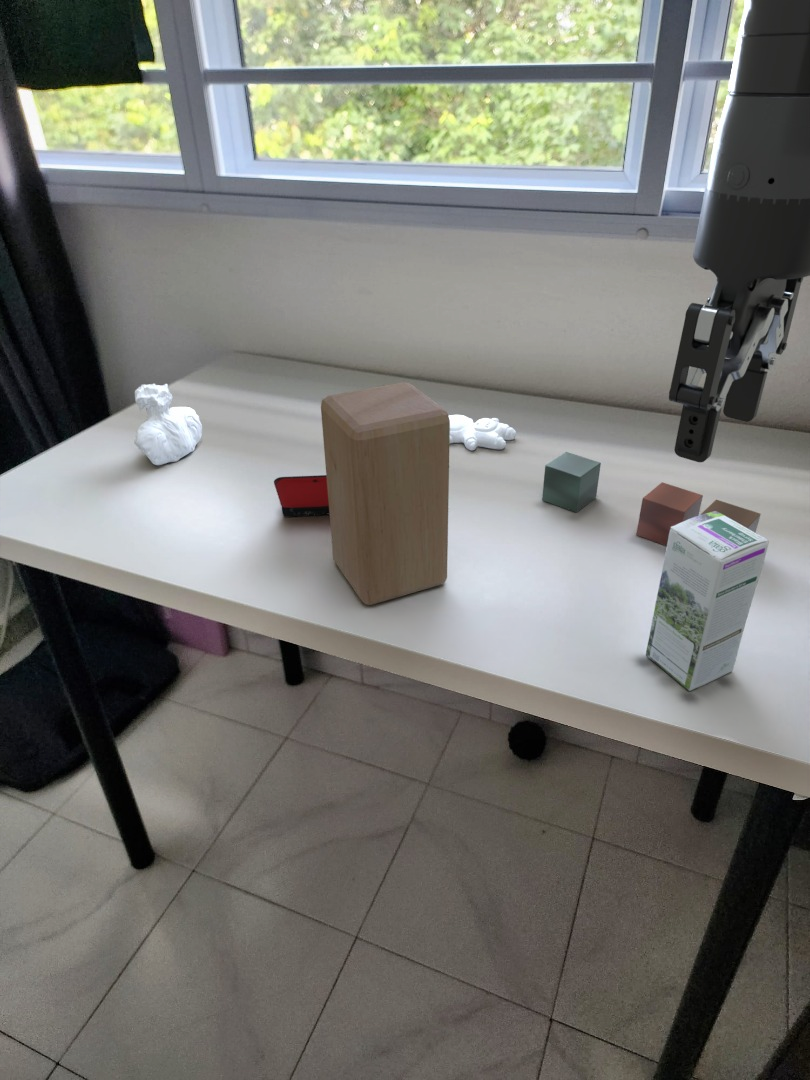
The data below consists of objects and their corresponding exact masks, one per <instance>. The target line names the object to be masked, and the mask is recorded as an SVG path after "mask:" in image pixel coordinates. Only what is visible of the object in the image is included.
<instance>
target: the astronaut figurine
mask: <svg viewBox="0 0 810 1080" xmlns="http://www.w3.org/2000/svg"><path fill="white" fill-rule="evenodd" d="M448 416H449V419H450V443H449V445H450V444H459V443H463V444H464V446H465V448H466V449H467V450H469V451H475V450H476V449H477V448H478V447H480V448H487V449H491V450H503V449H504V448H505V447H506V444H507V443H506V440H507V441H513V440H515V439H516V435H517V431H516V430H515V429H514V427H510V425H509V424H507V423H502V422H500V419H499V418H497V417H492V418H488V417H483V418H480V419H478V420H476V421H475V422H474V420H473V418H470V417H469V416H466V415H463V414H451V415H450V414H449V415H448Z"/></svg>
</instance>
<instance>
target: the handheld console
mask: <svg viewBox="0 0 810 1080" xmlns="http://www.w3.org/2000/svg"><path fill="white" fill-rule="evenodd" d="M273 484H274V485H273V486H274V487H275V492H276V495H277V496H278V501H279V503H280V506H281V513H282V515H283V517H287V518H293V517H294V518H295V517H307V516H308V517H310V516H311V517H312V516H326V515H330V513H329V501H328V489H327V477H326V474H321V475H319V474H318V475H301V476H300V475H297V476H296V475H295V476H293V475H292V476H279V477H276V478H275V479H274V480H273Z"/></svg>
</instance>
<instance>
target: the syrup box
mask: <svg viewBox="0 0 810 1080" xmlns="http://www.w3.org/2000/svg"><path fill="white" fill-rule="evenodd" d="M769 545H770V541H769V539H767V538H766V537H764V536H762V535H760V534H758V533H755V532H753V531H751V530H749V529H748V528H746V527H744V526H742V525H741V524H739V523H737V522H735V521H733V520H732V519H730V518H728V517H726V516H725V515H723V514H721V513H719V512H718V511H714V512H710V513H706V514H702V515H700V514H699V515H698V516H696V517H693V518H691V519H688V520H686V521H684V522H681V523H679V524H677V525H675V526H672V527H671V529H670V532H669V537H668V543H667V546H666V548H665V553H664V557H663V564H662V569H661V575H660V580H659V585H658V589H657V590H658V591H657V593H656V600H655V605H654V610H653V614H652V619H651V620H652V622H651V626H650V631H649V635H648V641H647V646H646V651H645V656H646V657H647V658H648V659H649V660H651V661H652V663H654V664H656V665H657V666H658V667H660V669H662V670H663V671H664V672H666V673H667V675H669V676H670V677H671V678H673V679H674V680H675V681H676V682H677V683H679V684H680V685H681V686H682V687H683V688H685V689H686V690H687V691H693V690H695V689H698V688H701V687H703V686H705V685H707V684H709V683H711V682H713V681H715V680H717V679H720V678H722V677H723V676H725V675H728V674H729V673H732V672H733V671H734V669H735V665H736V662H737V657H738V653H739V648H740V645H741V641H742V638H743V634H744V630H745V627H746V623H747V619H748V616H749V613H750V609H751V607H752V602H753V599H754V596H755V593H756V589H757V587H758V586H757V585H758V583H759V579H760V576H761V573H762V569H763V567H764V563H765V558H766V556H767V551H768V547H769Z"/></svg>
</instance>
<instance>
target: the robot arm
mask: <svg viewBox="0 0 810 1080" xmlns="http://www.w3.org/2000/svg"><path fill="white" fill-rule="evenodd" d="M737 35H738V37H737V41H736V46H735V51H734V56H733V62H732V68H731V71H730V78H729V82H728V89H727V92H728V93H727V95H726V98H725V102H724V105H723V109H722V113H721V116H720V119H719V122H718V126H717V129H716V133H715V136H714V139H713V145H712V150H711V155H710V160H709V165H708V170H707V177H706V180H705V186H704V193H703V198H702V204H701V208H700V215H699V220H698V225H697V230H696V236H695V242H694V247H693V253H692V258H693V261H694V263H695V264H696V265H698V267H699V268H702V269H704V270H707V271H711V272H712V273H713V274H714V276H715V277H716V283H715V285H714V287H713V291H712V294H711V297H709V298H708V299H707V300H706V302H705V304H702V303H697V302H696V303H695V302H691V303H690V304H689V305H688V307H687V309H686V311H685V316H684V322H683V326H682V332H681V336H680V340H679V345H678V349H677V355H676V359H675V363H674V369H673V373H672V379H671V384H670V389H669V392H668V400H669V401H670V402H673V403H678V404H680V405H682V409H681V414H680V419H679V424H678V429H677V434H676V440H675V444H674V453H675V455H676V456H678V457H679V458H683V459H685V460H690V461H693V462H696V463H704V462H705V461H707V459H709V458H710V457H711V455H712V451H713V447H714V443H715V438H716V433H717V429H718V425H719V420H720V416H721V413H723V415H724V416H725V417H726V418H729V419H733V420H737V421H741V422H745V423H748V422H751V421H752V420H754V419H755V418H756V417H757V415H758V412H759V408H760V403H761V400H762V396H763V392H764V388H765V385H766V381H767V380H766V379H767V377H768V373H769V371H771V370H772V368H773V367H774V366H775V364H776V361H777V355H780V356H782V354H783V353H784V351H785V350H786V349H787V346H788V342H787V341H788V338H789V333H790V329H791V327H792V322H793V318H794V314H795V310H796V305H797V302H798V298H799V294H800V290H801V285H802V282H803V281H804V278H807V277H810V0H744V4H743V12H742V15H741V21H740V25H739V30H738V34H737ZM767 370H768V371H767ZM704 374H706V375H705V379H704V383H703V386H700V385H699V383H700V381H701V379H702V376H703V375H704ZM698 385H699V386H698ZM722 407H723V409H722ZM721 411H722V412H721Z"/></svg>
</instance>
